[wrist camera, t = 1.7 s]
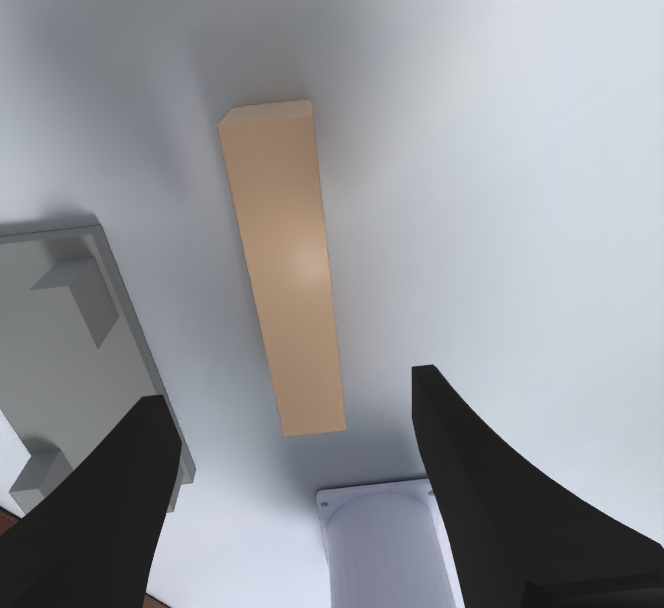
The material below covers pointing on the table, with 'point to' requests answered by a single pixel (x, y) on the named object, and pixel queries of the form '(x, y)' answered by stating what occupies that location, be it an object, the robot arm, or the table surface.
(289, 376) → the light brown rectangular bar
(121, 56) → the table surface
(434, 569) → the robot arm
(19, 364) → the plate with corner studs
